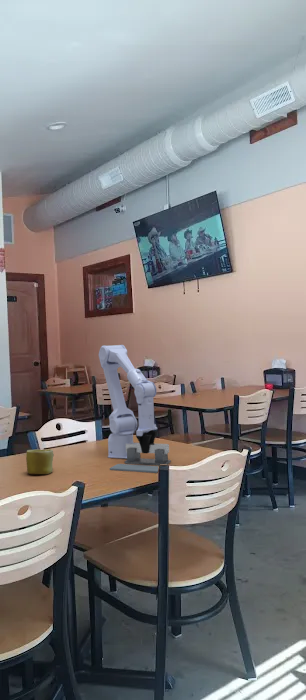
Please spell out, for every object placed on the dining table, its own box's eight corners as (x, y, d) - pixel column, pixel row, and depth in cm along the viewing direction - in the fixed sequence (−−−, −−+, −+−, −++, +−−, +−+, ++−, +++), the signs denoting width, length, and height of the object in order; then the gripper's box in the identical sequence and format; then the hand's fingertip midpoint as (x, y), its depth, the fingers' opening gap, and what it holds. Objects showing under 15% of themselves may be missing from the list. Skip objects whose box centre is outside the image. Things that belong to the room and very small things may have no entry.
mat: (109, 469, 201) (109, 468, 201) (118, 465, 208) (118, 463, 208) (157, 473, 195) (157, 471, 195) (164, 468, 201) (164, 466, 201)
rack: (124, 463, 211) (124, 448, 210) (131, 459, 216) (130, 445, 216) (165, 465, 205) (164, 450, 205) (170, 462, 210) (170, 447, 210)
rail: (125, 451, 212) (125, 443, 212) (129, 450, 215) (128, 442, 215) (166, 453, 206) (166, 445, 206) (169, 452, 209) (168, 444, 209)
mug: (41, 473, 192) (38, 443, 195) (21, 479, 197) (18, 450, 200) (67, 472, 201) (63, 444, 204) (46, 478, 207) (43, 451, 210)
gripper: (148, 418, 202) (150, 456, 202) (163, 412, 215) (164, 448, 216) (130, 418, 204) (131, 455, 205) (145, 412, 218) (147, 447, 218)
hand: (147, 452), depth 210 cm, fingers open, 3 cm apart
